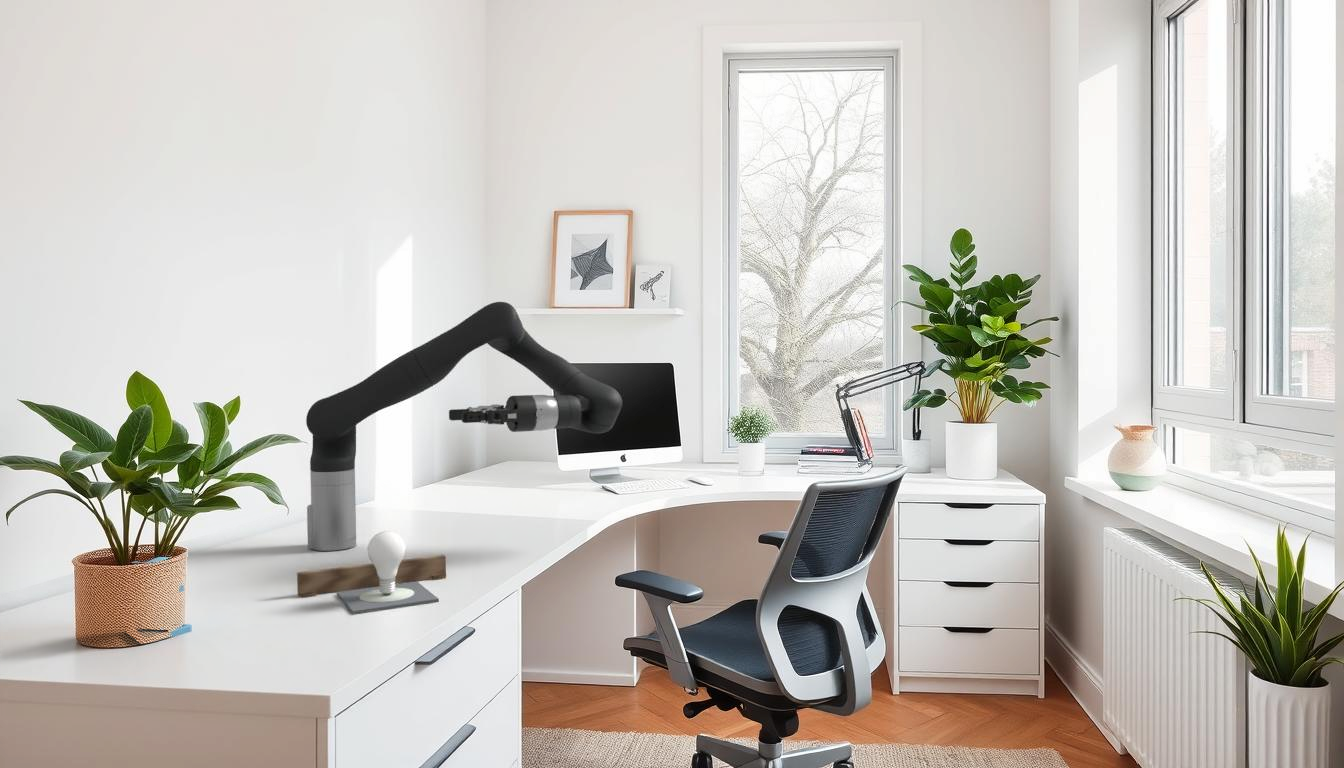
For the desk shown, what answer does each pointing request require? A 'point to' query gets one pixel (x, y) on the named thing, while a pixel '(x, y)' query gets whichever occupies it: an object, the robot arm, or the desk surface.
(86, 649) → the desk surface
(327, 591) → the walnut fence
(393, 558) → the lightbulb
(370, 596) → the mat
